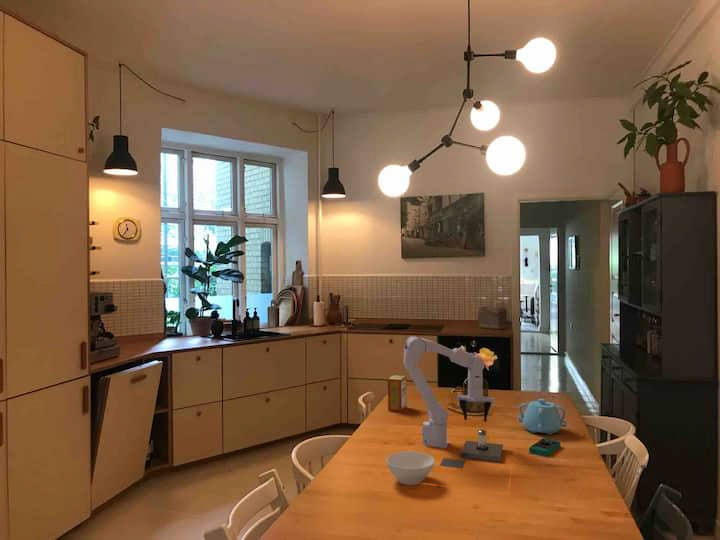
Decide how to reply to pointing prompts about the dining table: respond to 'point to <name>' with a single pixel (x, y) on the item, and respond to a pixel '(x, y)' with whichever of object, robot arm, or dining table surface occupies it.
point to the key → (482, 440)
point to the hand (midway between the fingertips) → (475, 420)
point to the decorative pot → (542, 417)
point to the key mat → (452, 463)
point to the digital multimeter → (544, 447)
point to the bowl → (410, 466)
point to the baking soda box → (396, 393)
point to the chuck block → (482, 451)
